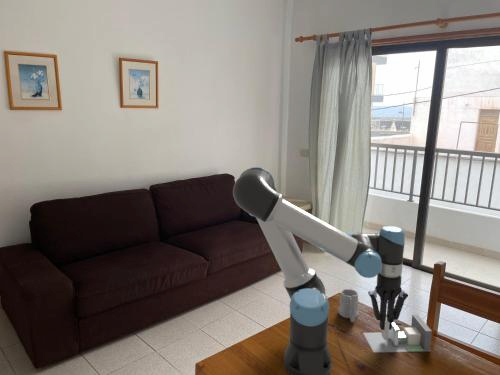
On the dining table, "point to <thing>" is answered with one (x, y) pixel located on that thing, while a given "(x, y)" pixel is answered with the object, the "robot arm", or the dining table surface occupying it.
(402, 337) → the plunger
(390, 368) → the dining table surface
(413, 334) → the block
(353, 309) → the mug
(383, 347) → the bench
